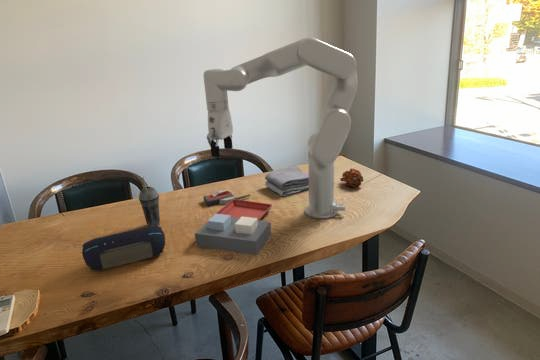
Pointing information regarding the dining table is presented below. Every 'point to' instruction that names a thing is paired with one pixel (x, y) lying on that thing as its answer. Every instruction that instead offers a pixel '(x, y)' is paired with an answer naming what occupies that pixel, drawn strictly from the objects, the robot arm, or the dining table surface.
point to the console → (234, 238)
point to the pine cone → (352, 178)
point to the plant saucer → (245, 209)
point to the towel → (287, 181)
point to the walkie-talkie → (220, 198)
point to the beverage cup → (150, 205)
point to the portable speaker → (123, 247)
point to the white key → (246, 225)
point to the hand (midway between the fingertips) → (222, 152)
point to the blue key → (219, 222)
